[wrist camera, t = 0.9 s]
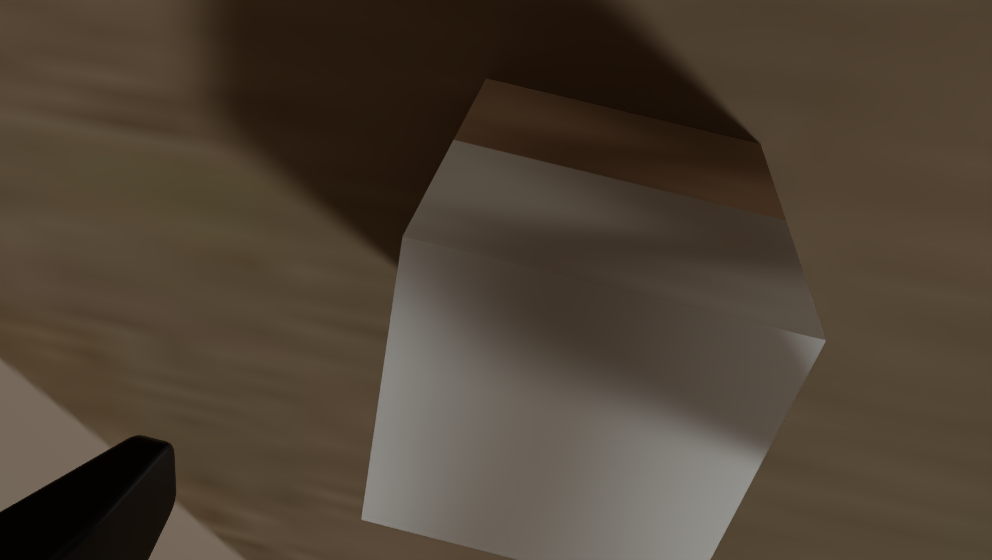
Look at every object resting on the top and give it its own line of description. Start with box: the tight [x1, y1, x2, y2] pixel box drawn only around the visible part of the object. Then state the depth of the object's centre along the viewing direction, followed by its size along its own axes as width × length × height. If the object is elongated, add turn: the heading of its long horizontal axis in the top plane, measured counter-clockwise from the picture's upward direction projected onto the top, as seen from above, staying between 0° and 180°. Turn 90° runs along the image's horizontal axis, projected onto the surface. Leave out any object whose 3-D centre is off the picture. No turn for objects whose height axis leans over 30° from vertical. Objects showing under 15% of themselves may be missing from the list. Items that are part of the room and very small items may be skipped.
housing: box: [361, 78, 826, 560], centre depth 13 cm, size 5×5×6 cm
